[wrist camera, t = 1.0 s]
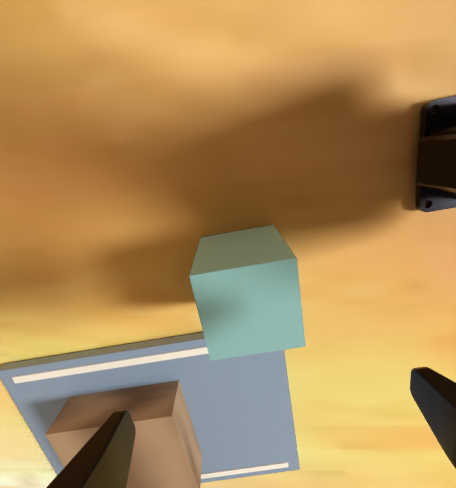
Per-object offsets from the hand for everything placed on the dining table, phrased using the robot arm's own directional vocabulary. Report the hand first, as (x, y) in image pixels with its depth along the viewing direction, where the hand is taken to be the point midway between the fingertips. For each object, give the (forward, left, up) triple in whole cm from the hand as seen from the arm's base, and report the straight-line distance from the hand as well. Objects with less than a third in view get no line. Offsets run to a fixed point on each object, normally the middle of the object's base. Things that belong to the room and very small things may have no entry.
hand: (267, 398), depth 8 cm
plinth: (+11, +13, -10) cm, 20 cm away
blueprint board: (+9, +13, -11) cm, 19 cm away
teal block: (0, 0, -11) cm, 11 cm away
